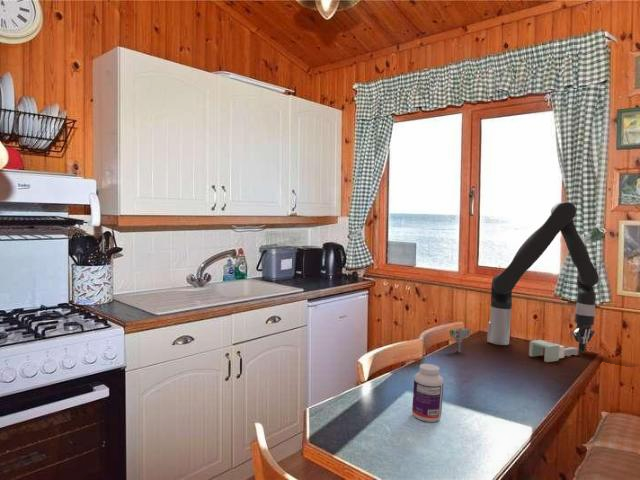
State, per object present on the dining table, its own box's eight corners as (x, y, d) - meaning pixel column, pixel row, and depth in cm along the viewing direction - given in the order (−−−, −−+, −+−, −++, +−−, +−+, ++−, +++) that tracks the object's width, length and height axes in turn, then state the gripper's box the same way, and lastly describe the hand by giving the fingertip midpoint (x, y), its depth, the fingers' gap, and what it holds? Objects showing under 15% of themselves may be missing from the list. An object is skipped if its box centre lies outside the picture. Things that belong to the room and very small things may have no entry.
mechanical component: (447, 351, 191) (448, 328, 191) (465, 350, 195) (466, 327, 195) (451, 353, 188) (453, 330, 188) (470, 351, 193) (471, 329, 192)
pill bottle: (419, 408, 130) (422, 360, 129) (445, 417, 125) (449, 367, 124) (406, 416, 124) (409, 366, 123) (433, 426, 119) (436, 373, 118)
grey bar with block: (570, 352, 200) (571, 342, 200) (579, 355, 196) (580, 344, 196) (545, 356, 193) (545, 344, 193) (554, 359, 189) (555, 347, 189)
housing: (539, 354, 195) (540, 339, 195) (558, 360, 187) (559, 345, 186) (528, 355, 192) (529, 340, 191) (547, 362, 184) (548, 346, 183)
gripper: (586, 311, 206) (583, 347, 207) (567, 312, 200) (564, 349, 201) (602, 314, 199) (599, 352, 200) (583, 315, 194) (580, 354, 194)
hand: (581, 351), depth 201 cm, fingers closed
